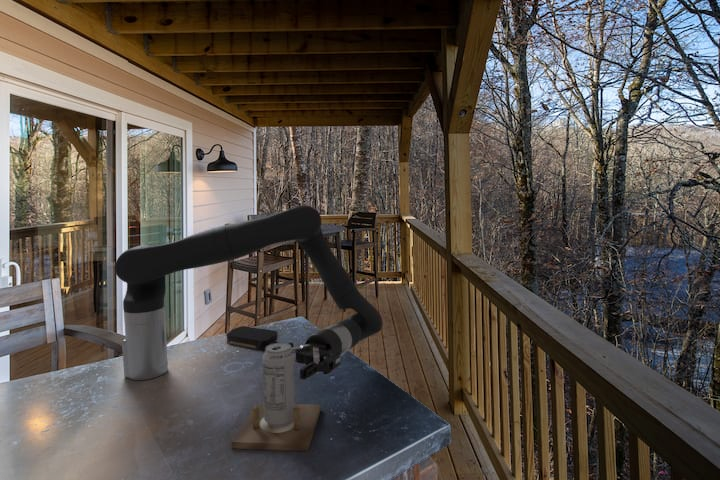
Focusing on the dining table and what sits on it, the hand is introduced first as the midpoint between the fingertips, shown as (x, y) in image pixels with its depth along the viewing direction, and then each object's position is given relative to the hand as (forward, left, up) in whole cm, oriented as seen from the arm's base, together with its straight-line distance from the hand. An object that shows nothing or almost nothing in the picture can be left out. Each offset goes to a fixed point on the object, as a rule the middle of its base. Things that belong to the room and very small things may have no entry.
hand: (284, 370), depth 80 cm
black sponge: (-22, +45, -12) cm, 51 cm away
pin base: (-1, -2, -11) cm, 11 cm away
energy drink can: (-1, -1, -10) cm, 10 cm away
